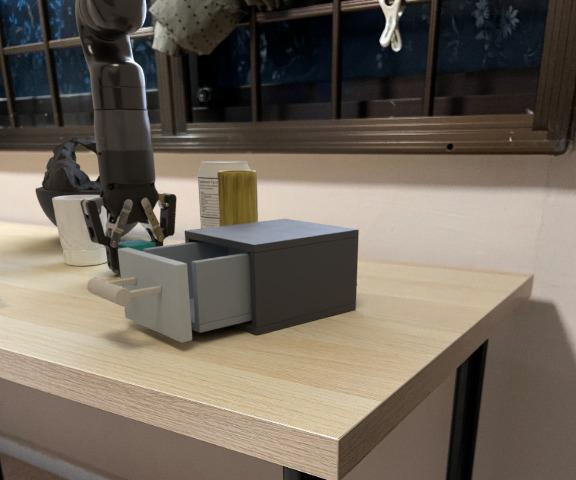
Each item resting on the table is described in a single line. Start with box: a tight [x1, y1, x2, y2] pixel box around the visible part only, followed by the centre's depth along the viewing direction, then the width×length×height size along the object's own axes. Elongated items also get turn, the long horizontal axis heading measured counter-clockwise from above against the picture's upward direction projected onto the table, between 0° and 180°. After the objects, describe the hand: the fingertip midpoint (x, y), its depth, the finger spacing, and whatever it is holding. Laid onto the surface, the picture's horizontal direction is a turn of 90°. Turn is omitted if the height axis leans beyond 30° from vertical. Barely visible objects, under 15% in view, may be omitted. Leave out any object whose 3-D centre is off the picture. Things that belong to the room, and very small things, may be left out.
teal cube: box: [118, 239, 156, 252], centre depth 89 cm, size 4×4×4 cm
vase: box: [217, 169, 259, 226], centre depth 85 cm, size 6×6×14 cm
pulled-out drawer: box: [86, 241, 252, 344], centre depth 62 cm, size 18×11×7 cm, turn 131°
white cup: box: [52, 195, 107, 267], centre depth 96 cm, size 8×8×10 cm
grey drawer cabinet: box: [184, 218, 360, 336], centre depth 69 cm, size 15×13×9 cm
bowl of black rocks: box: [34, 135, 139, 238], centre depth 112 cm, size 20×20×19 cm
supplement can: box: [197, 160, 251, 229], centre depth 94 cm, size 8×8×15 cm
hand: (137, 269), depth 89 cm, fingers open, 5 cm apart
